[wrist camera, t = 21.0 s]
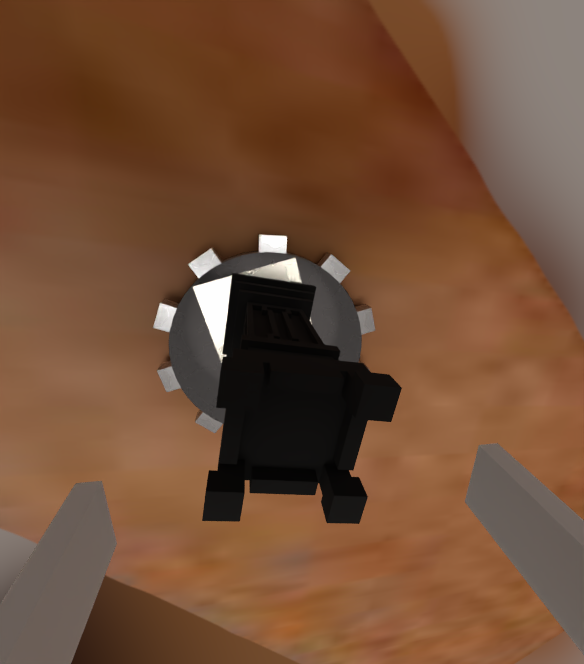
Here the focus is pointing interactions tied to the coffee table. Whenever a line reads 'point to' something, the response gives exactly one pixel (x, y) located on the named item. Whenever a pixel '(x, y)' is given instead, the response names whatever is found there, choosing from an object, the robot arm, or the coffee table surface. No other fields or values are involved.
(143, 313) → the coffee table surface
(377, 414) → the chess piece
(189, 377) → the sprocket
